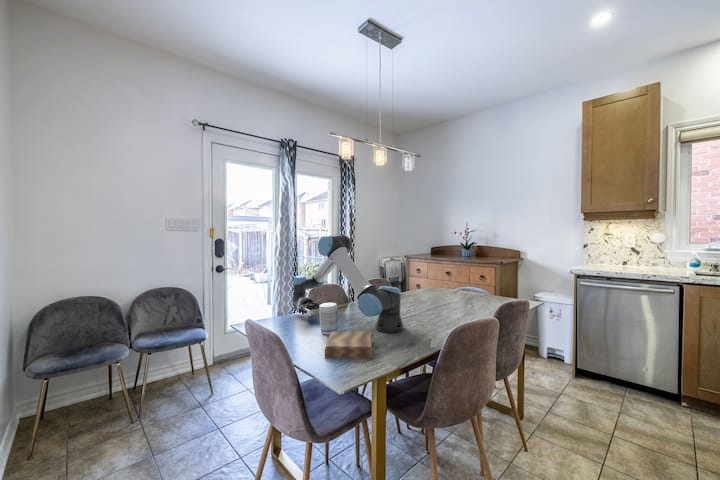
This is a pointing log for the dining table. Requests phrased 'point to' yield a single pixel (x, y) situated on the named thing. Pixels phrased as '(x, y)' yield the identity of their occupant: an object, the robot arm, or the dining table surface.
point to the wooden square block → (349, 345)
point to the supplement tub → (328, 318)
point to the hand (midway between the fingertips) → (321, 311)
